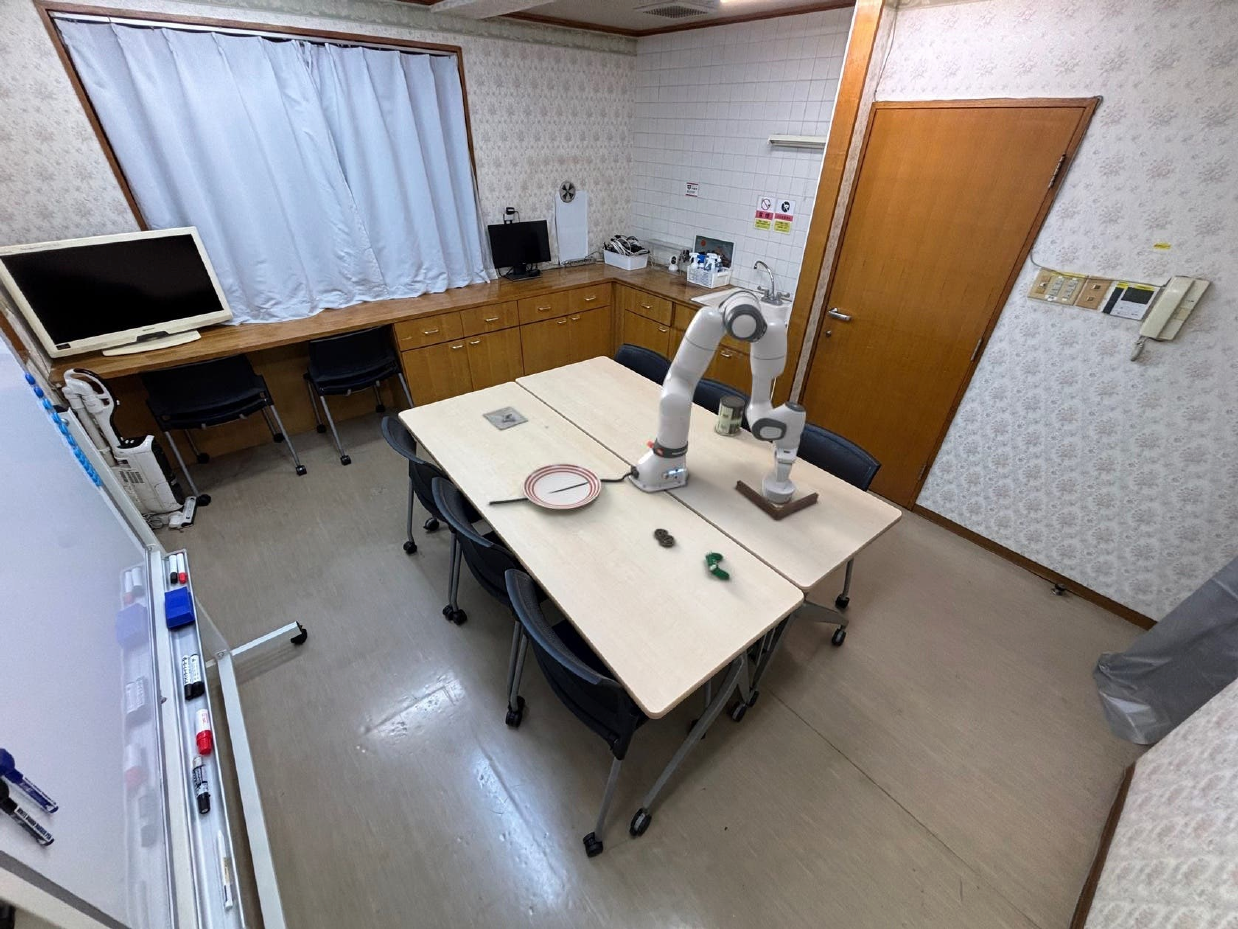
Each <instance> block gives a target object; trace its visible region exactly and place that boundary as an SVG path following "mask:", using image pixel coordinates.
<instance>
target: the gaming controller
mask: <svg viewBox="0 0 1238 929" xmlns="http://www.w3.org/2000/svg"><path fill="white" fill-rule="evenodd" d="M704 557H705V560H706V563H707V566H708V569H709V570H708V571H709V572H710V573H711V574H712V575H713V576H715V577H717V578H721V579H727V580H728V579H729V578H730V573H728V572H727V571H725V570H724V569H722V568H720V567H719V564H718V562H720V561H722V560H723V559H724V556H723V554H721V553H720V552H712V550H709V551H707V552H705V553H704Z"/></svg>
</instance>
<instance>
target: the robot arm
mask: <svg viewBox="0 0 1238 929" xmlns="http://www.w3.org/2000/svg"><path fill="white" fill-rule="evenodd" d="M726 334H728V335H729V336H730V337H731V338H732V339H734V340H737V341H740V342H747V343H750V352H749V353H750V354H749V361H750V371H751V375H752V380H751V392H750V397H749V400H748V402H747V404H746V406H745V407H744V417H745V418H746V420H747V422H748V426H749V429H750V432H751V434H752V436H753V438H755V439H756V440H758V441H761V442H772V443H771V448H770V449H771V451H772V452H773V457H774V458H773V460H774V475H775V477H776V481H777V482H783V483H785V482H786V481H787V480H788V479H789V477H790V475H791V472H792V468H793V465H795V464H796V461H797V460H796V459H797V454H798V451H799V446H800V442H801V435H802V434H803V432H804V427H805V424H806V417H807V412H806V410H805V408H804V407H803V406H802V405H800V404H799V403H797V402H794V401H785V402H784V403H782V404H781V405H780V406H777V407H775V408H774V405H773V403H772V401H771V398H770V396H771V388H772V387H771V386H772V380H774V379H776V378H778V377H779V376H781V375H782V374H783V373H784V370H785V367H786V363H787V355H788V334H787V327H786V323H785V322H784V320H783V319H781V318H779V317H777V316H766V315H764V314H763V312H762V307H761V304H760V302H759V299H758V297H757V296H756V295H755V294H754V292H751V291H749V290H746V289H744V290H743V289H741V290H737V291H735V292H733V293H732V294H730V295H729V296H728V297H727V298H725V299H724V300H723V301H721V302H720V303H719V305H718V307H715V306H711V305H710V306H709V305H708V306H707V305H706V306H703V307H701V308H700V309H698V311H697V312H696V314H695V315H694V317H693V318H692V320H691V322H690V323H689V325H688V327H687V329H686V331H685V333H684V335H683V338H682V340H681V342H680V345H679V347H678V349H677V352H676V354H675V355H674V358H673V361H672V362H671V364H670V366H669V369H668V371H667V373H666V375H665V378H664V380H663V383H662V386H661V390H660V393H659V395H658V423H657V436H656V438H655V439H654V442H652V440H648V441H647V443H646V446H647V447H649V448H650V450H648V452H645V454H644V455H642V456H641V457H640V458H639V459H638V460H637V462H636V463H635V464H636V465H635V466H630V470H629V472H627V473H625V474H623V475H622V477H621V478H618V479H609V478H599V479H600V481H601V483H620V482H623V481H624V480H625V479H626V478H627V477H628V478H629V480H630V481H631V482H632V484H633V485H635V486H636V487H637V488H638V489H640V490H641V491H644V492H646V493H653V492H659V491H664V490H669V489H674V488H679V487H684V486H685V485H686V480H687V478H688V474H689V473H688V468H687V453H688V451H689V450H688V449H689V440H688V439H689V432H690V425H691V416H692V408H693V401H694V395H695V391H696V388H697V386H698V384H699V382H700V380H701V378H702V377H703V376H704V374H705V372H706V371H707V370H708V367H709V366H710V363H711V361H712V359H713V357H714V355H715V353H716V351H717V348H719V344H720V342H721V341H722V339H723V337H725V335H726ZM587 483H589V482H586V483H582V484H579V485H575V486H571V487H568V488H565V489H561V490H557V491H554V492H550V493H555V492H559V491H564V490H567V489H571V488H574V487H578V486H582V485H585V484H587ZM547 494H548V493H547ZM525 501H530V500H529V499H528V498H527V497H521V498H514V499H505V500H492V501H489V505H499V504H511V503H519V502H525Z"/></svg>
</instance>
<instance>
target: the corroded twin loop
mask: <svg viewBox="0 0 1238 929" xmlns="http://www.w3.org/2000/svg"><path fill="white" fill-rule="evenodd" d="M653 533H654V534H653V535H654V536H655V538H656V539H659V543H660V544H661V545H663V546H669V547H670V546H673V544H675V543H674V542H675V538H674V536H673V535H671V534H669V531H668V530H667V529H665V528H656V529H655V530H654V532H653Z"/></svg>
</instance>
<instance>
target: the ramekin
mask: <svg viewBox="0 0 1238 929" xmlns="http://www.w3.org/2000/svg"><path fill="white" fill-rule="evenodd" d="M795 491H796V485H795V483H794V482H793V481H792V480H791V479H790V478H788V480H787V481H786V482H785V483H783V482H777V481H776V477H775V474H769V475H766V476H765V477H763V478H762V491H761V492H762V495H763V496H764V498H765V499H766V500H768V501H769V502H771V503H777V504H782V503H783V504H784V503H786V502H788V501H789V500H790V499H791V497H792V495H793V494H794V493H795Z"/></svg>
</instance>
